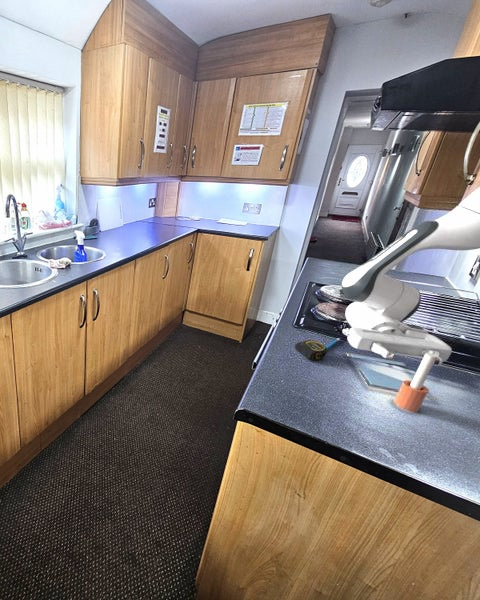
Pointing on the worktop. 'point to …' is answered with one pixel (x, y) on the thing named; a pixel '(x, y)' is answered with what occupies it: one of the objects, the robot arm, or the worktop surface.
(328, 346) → the pencil
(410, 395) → the pen pot
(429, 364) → the stylus
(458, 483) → the worktop surface
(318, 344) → the tape measure
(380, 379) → the tablet
